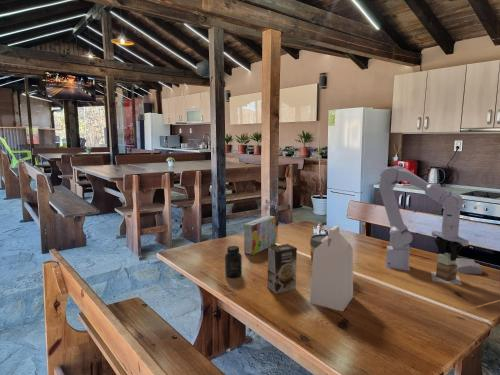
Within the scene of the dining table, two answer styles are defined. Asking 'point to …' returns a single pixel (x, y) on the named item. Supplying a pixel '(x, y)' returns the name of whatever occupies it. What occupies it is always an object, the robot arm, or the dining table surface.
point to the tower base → (446, 275)
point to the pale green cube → (445, 259)
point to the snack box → (259, 235)
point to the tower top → (446, 268)
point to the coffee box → (282, 268)
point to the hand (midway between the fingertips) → (447, 258)
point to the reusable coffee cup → (316, 242)
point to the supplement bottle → (233, 262)
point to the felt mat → (456, 281)
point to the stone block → (468, 266)
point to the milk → (332, 272)
